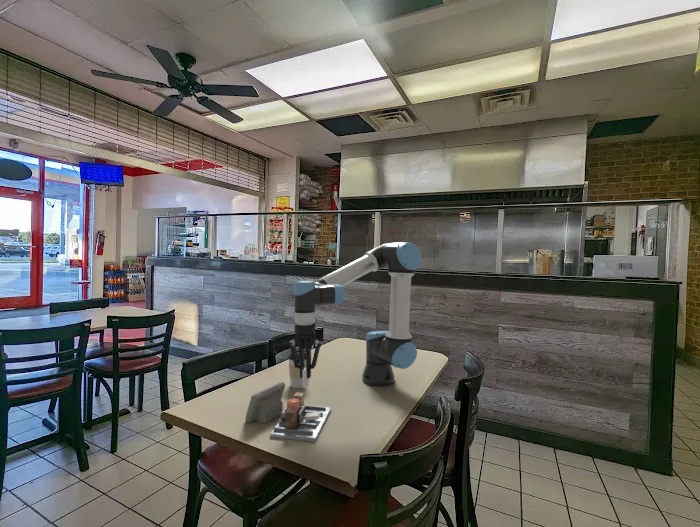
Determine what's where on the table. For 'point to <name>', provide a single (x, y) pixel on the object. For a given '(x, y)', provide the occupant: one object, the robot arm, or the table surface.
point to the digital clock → (266, 404)
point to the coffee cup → (295, 372)
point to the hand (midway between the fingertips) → (305, 386)
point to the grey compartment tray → (302, 425)
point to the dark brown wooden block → (291, 418)
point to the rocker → (312, 416)
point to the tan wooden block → (299, 397)
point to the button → (293, 404)
